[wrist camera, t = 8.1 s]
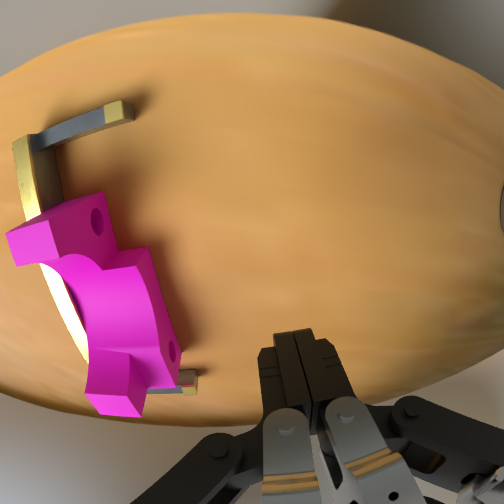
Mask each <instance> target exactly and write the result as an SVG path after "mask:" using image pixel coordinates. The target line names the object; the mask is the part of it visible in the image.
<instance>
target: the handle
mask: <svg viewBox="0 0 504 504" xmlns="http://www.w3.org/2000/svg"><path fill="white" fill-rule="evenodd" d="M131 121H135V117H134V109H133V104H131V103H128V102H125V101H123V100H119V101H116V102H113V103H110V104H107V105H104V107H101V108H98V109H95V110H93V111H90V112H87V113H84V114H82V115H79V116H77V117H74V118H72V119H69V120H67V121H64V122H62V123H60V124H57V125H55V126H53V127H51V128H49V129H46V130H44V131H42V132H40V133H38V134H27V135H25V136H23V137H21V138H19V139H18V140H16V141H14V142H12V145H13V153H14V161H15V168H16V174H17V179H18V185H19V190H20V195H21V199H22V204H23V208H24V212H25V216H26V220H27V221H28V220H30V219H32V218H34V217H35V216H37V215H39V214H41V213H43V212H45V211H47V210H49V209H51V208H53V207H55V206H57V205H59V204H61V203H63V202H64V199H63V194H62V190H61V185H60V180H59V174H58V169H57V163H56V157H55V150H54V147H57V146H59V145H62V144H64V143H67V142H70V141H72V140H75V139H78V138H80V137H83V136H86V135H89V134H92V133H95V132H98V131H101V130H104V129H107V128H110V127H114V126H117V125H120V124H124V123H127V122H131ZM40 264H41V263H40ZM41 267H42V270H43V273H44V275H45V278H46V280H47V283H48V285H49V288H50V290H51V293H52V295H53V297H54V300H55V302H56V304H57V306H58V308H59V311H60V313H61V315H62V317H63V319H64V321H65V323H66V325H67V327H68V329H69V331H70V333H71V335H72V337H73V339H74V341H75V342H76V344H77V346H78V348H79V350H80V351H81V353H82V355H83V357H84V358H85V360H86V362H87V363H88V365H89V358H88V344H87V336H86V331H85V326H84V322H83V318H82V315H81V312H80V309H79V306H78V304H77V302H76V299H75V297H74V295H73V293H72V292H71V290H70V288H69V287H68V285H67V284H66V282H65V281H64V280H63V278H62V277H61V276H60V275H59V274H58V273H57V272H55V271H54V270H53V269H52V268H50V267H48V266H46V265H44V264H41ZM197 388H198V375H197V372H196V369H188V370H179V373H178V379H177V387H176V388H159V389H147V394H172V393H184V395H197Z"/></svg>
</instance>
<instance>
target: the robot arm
mask: <svg viewBox="0 0 504 504" xmlns="http://www.w3.org/2000/svg"><path fill="white" fill-rule="evenodd" d="M501 225H502V229H503V232H504V189H503V194H502V200H501ZM273 341H274V347H268V348H262V349H261V351H260V353H259V356H258V358H257V359H258V368H259V377H260V385H261V394H262V403H263V417H262V420H261V421H260V423H259V424H258V425H257V426H256V427H255V428H253V429H252V430H250V431H248V432H246V433H243V434H240V435H237V436H235V437H234V436H232V435H230V434H226V433H214V434H210V435H208V436H206V437H204V438H203V439H202V440H201V441H200V442H199V443H198V444H197V445H196V446H195V447H194V448H193V449H192V450H191V451H190V452H189V453H187V454H186V455H185V456H184V457H183V458H182V459H181V460H180V461H179V462H178V463H177V464H176V465H175V466H174V467H172V468H171V469H170V470H169V471H168V472H167V473H166V474H165V475H164V476H162V477H161V478H160V479H159V480H158V481H157V482H156V483H154V484H153V485H152V486H151V487H150V488H148V489H147V490H146V491H145V492H144V493H142V494H141V495H140V496H139V497H138V498H137V499H135V500H134V501H133V502H131V503H130V504H234V503H235V502H236V501H237V500H238V499H239V498H240V496H241V495H242V494H243V493H244V492H245V491H246V490H247V488H248V487H249V486H250V485H252V484H255V483H258V482H260V481H263V484H262V504H321V495H320V488H319V483H318V480H317V477H316V475H315V468H314V460H313V453H312V445H311V438H310V435H315V434H317V436H318V439H319V443H320V444H319V453H320V456H321V459H322V462H323V465H324V468H325V471H326V474H327V476H328V479H329V482H330V485H331V488H332V491H333V501H334V504H444V503H442V502H440V501H437V500H435V499H433V498H430V497H426V496H423V495H422V493H421V491H420V489H419V487H418V485H417V483H416V481H415V479H414V477H413V476H415V477H418V478H420V479H422V480H425V481H427V482H430V483H432V484H434V485H437V486H439V487H442V488H445V489H447V490H450V491H453V492H456V493H458V498H457V504H504V430H503V429H500V428H497V427H494V426H491V425H489V424H486V423H483V422H480V421H478V420H475V419H472V418H470V417H467V416H464V415H461V414H459V413H457V412H454V411H451V410H449V409H447V408H444V407H442V406H439V405H437V404H434V403H432V402H430V401H427V400H425V399H422V398H420V397H417V396H405V397H403V398H401V399H399V400H398V401H397V402H396V403H395V404H394V406H372V405H368V404H365V403H363V402H362V401H361V400H359V399H358V398H357V397H356V396H355V394H354V392H353V389H352V387H351V385H350V382H349V380H348V377H347V375H346V373H345V370H344V368H343V366H342V364H341V361H340V359H339V357H338V354H337V352H336V349H335V347H334V345H332V344H331V343H330V342H329V341H328V340H327V339H325V338H324V339H318V340H315V337H314V335H313V332H312V330H311V328H307V329H301V330H295V331H292V332H291V331H289V332H282V333H275V334H273Z"/></svg>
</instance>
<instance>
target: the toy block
mask: <svg viewBox="0 0 504 504" xmlns="http://www.w3.org/2000/svg"><path fill="white" fill-rule="evenodd" d="M5 234H6V237H7V240H8V243H9V247H10V250H11V253H12V256H13V259H14V261H15V264H16V267H17V266H22V265H27V264H32V263H41V264H44V265H46V266H48V267H50V268H52V269H53V270H54V271H55V272H57V273H58V274H59V275H60V276H61V277H62V278H63V280H64V281H65V282H66V284H67V285H68V287H69V288H70V290H71V292H72V293H73V295H74V297H75V299H76V302H77V304H78V306H79V309H80V312H81V315H82V318H83V322H84V326H85V331H86V336H87V344H88V358H89V365H88V378H87V384H86V389H85V392H84V394H85V395H86V396H87V398H88V399H89V400H90V402H91V403H92V404H93V406H94V407H95V408H96V409H97V411H98V412H99V413H100V414H103V415H114V416H127V417H141V416H142V412H143V407H144V402H145V398H146V394H147V389H159V388H176V387H177V379H178V373H179V366H180V359H181V353H182V352H181V350H180V347H179V344H178V341H177V338H176V336H175V333H174V330H173V327H172V324H171V321H170V318H169V315H168V312H167V309H166V306H165V302H164V299H163V296H162V293H161V289H160V286H159V283H158V279H157V276H156V272H155V269H154V265H153V261H152V258H151V254H150V250H149V246H148V247H141V248H135V249H129V250H123V251H119V250H118V246H117V243H116V239H115V235H114V232H113V228H112V224H111V220H110V216H109V212H108V207H107V203H106V198H105V194H104V191H102V192H98V193H94V194H90V195H87V196H83V197H79V198H76V199H72V200H69V201H66V202H63V203H61V204H59V205H57V206H55V207H53V208H51V209H49V210H47V211H45V212H43V213H41V214H39V215H37V216H35V217H34V218H32V219H30V220H28V221H26V222H24V223H23V224H21V225H19V226H17V227H16V228H14V229H12V230H10V231H9V232H7V233H5Z"/></svg>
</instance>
